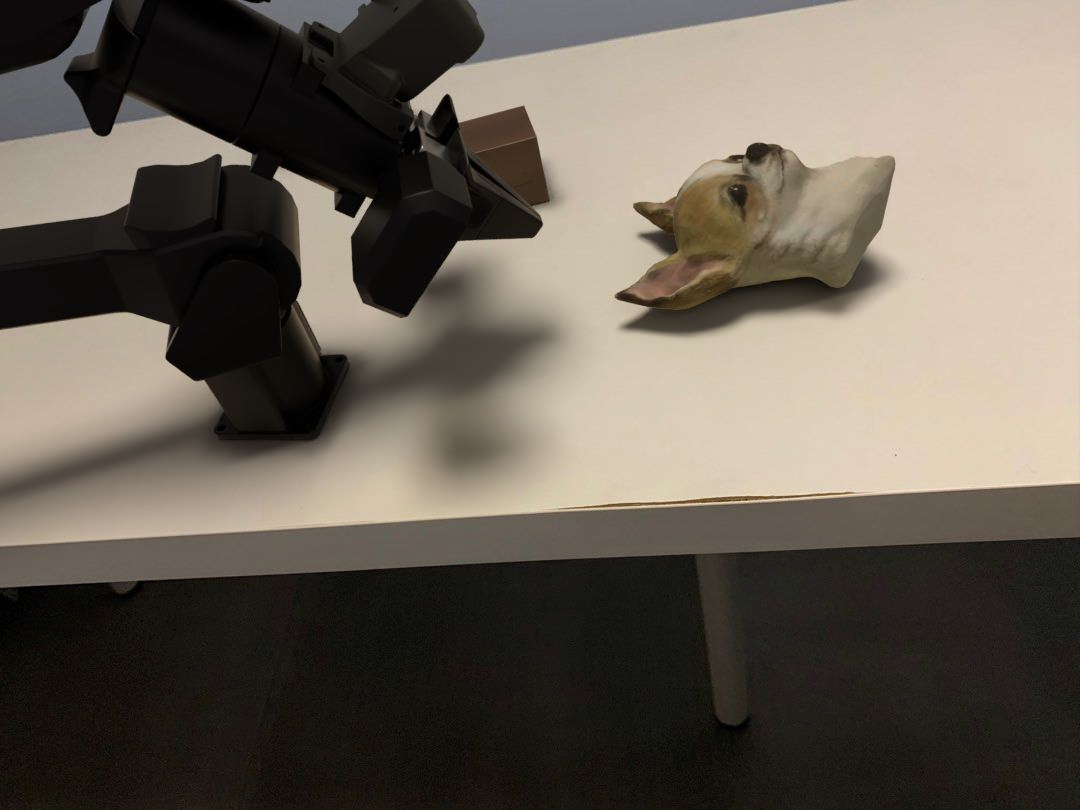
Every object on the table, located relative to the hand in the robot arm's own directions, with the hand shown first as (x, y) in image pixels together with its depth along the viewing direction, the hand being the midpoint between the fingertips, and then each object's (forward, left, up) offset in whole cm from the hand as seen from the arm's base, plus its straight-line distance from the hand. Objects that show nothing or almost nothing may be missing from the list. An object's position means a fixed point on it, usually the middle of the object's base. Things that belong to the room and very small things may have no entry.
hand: (537, 227), depth 46 cm
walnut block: (+15, +6, -7) cm, 18 cm away
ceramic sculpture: (+4, -11, -7) cm, 14 cm away
